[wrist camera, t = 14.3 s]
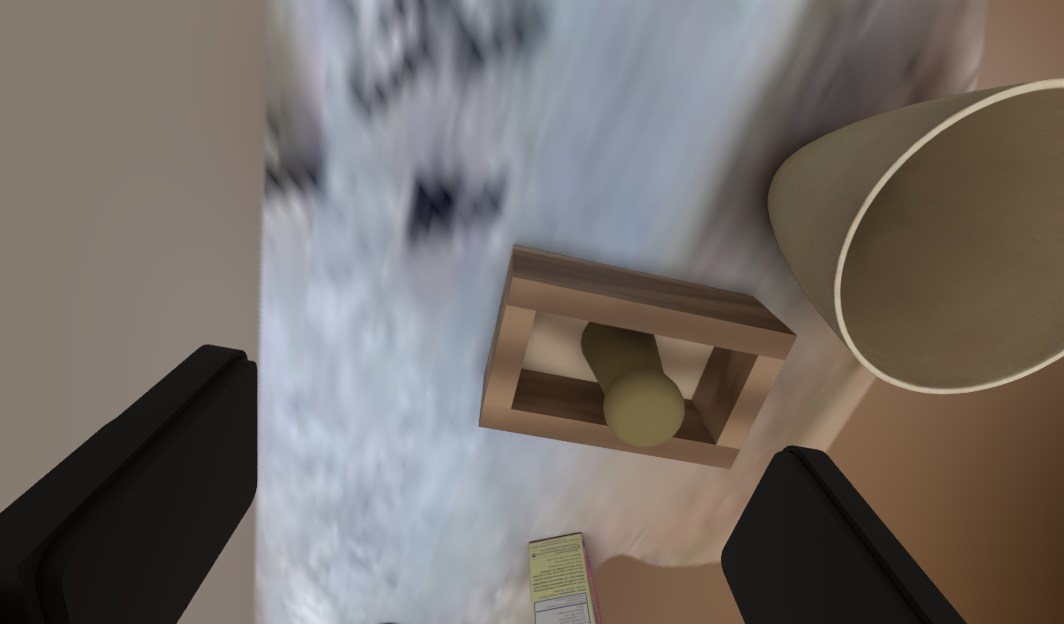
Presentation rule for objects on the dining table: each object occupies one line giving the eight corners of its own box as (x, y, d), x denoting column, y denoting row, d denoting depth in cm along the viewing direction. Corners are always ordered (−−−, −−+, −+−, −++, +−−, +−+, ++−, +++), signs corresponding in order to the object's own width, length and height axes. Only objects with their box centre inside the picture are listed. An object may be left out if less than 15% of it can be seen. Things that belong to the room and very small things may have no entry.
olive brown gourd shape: (592, 381, 43) (616, 473, 33) (571, 321, 40) (589, 400, 30) (661, 360, 42) (707, 446, 32) (644, 297, 39) (687, 370, 29)
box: (599, 596, 55) (619, 719, 45) (549, 605, 56) (557, 729, 45) (582, 530, 51) (600, 649, 40) (528, 540, 52) (531, 661, 41)
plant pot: (930, 60, 34) (1239, 42, 19) (904, 264, 40) (1124, 367, 26) (709, 104, 35) (849, 119, 20) (717, 298, 41) (827, 416, 26)
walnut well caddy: (513, 244, 38) (512, 276, 32) (753, 296, 41) (797, 335, 34) (484, 376, 43) (478, 426, 37) (700, 415, 46) (730, 469, 39)
